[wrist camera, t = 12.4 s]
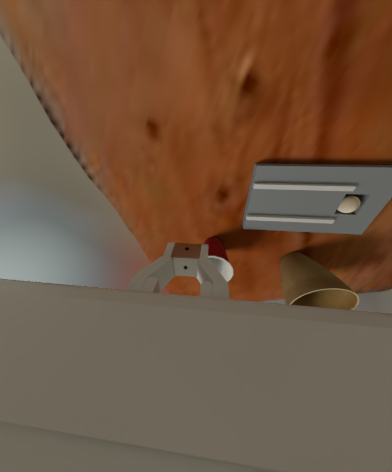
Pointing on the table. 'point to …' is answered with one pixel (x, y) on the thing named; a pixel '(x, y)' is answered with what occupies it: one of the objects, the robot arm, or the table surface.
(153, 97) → the table surface
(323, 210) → the hole board
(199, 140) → the table surface
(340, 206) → the ball
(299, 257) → the plant pot
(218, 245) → the plastic cup
